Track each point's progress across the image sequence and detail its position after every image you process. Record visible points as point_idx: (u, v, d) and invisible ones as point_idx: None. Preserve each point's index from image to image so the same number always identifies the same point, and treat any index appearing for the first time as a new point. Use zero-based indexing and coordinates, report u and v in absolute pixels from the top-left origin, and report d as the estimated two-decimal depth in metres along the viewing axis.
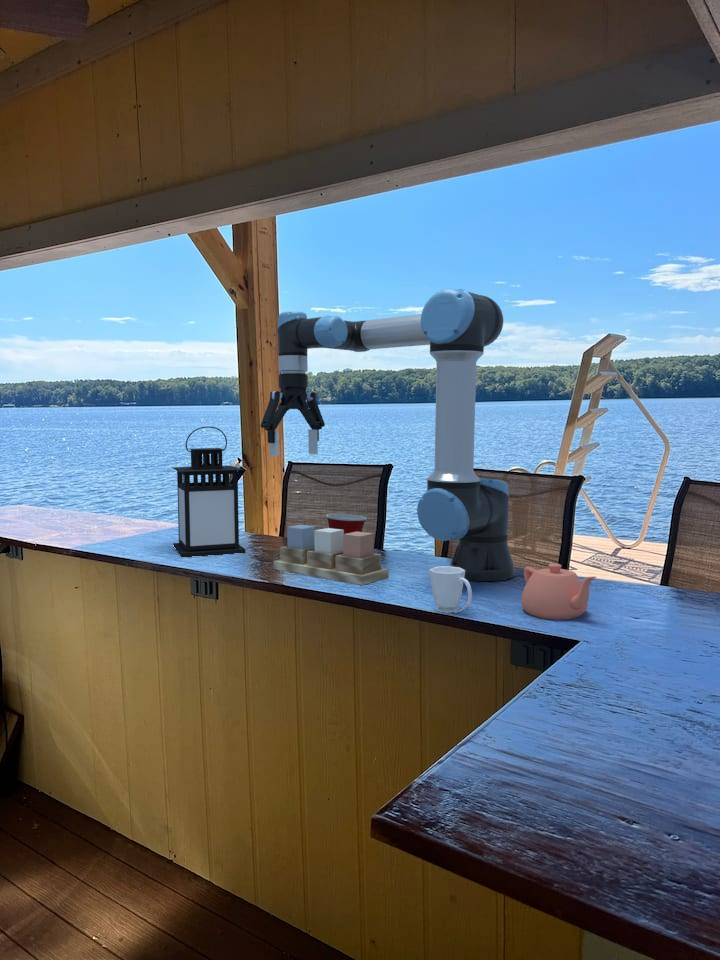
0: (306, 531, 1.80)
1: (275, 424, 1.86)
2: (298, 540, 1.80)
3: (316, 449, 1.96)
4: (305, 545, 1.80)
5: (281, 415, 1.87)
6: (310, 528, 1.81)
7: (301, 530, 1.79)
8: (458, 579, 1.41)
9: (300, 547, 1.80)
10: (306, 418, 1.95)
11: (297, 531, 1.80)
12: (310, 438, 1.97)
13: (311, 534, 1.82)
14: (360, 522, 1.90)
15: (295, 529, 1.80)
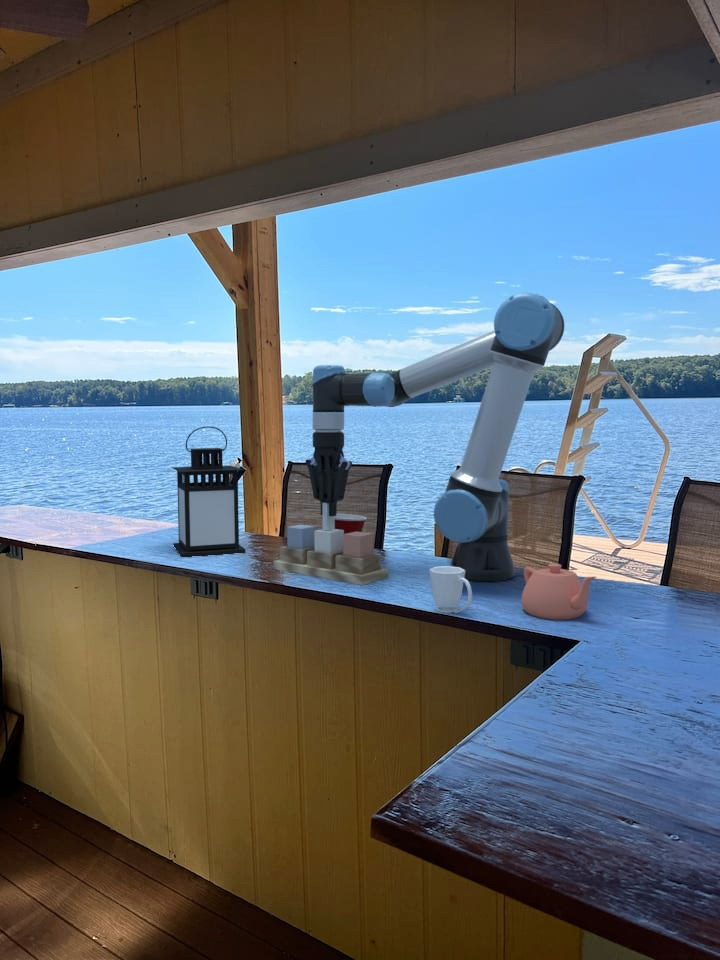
0: (306, 531, 1.80)
1: (320, 495, 1.76)
2: (298, 540, 1.80)
3: (325, 525, 1.76)
4: (305, 545, 1.80)
5: (320, 483, 1.76)
6: (310, 528, 1.81)
7: (301, 530, 1.79)
8: (458, 579, 1.41)
9: (300, 547, 1.80)
10: None
11: (297, 531, 1.80)
12: None
13: (311, 534, 1.82)
14: (360, 522, 1.90)
15: (295, 529, 1.80)
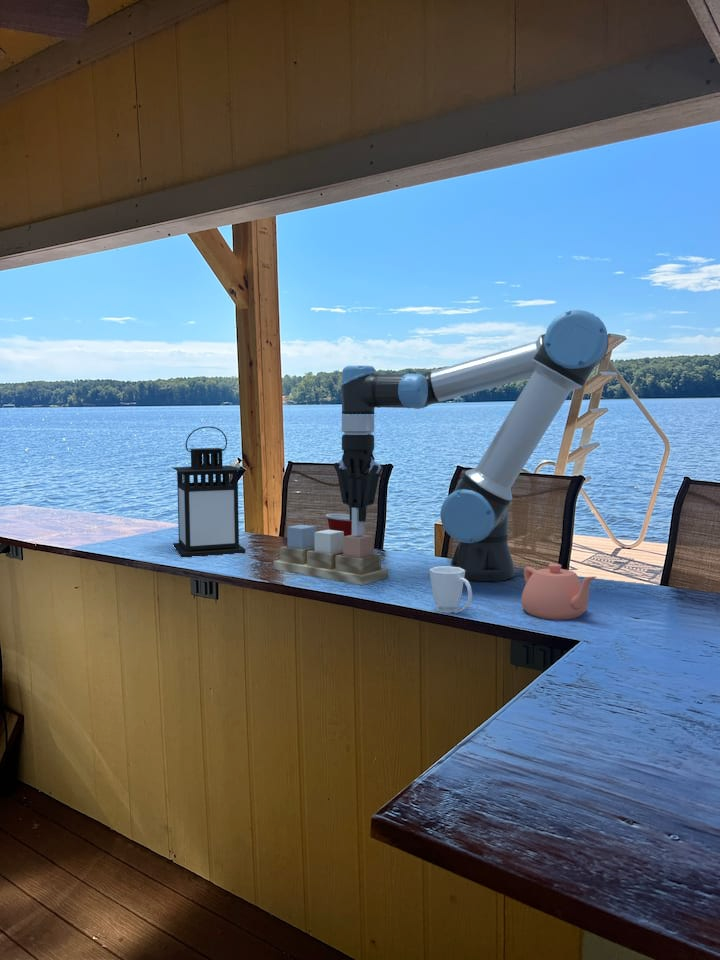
0: (306, 531, 1.80)
1: (349, 500, 1.71)
2: (298, 540, 1.80)
3: (355, 530, 1.70)
4: (305, 545, 1.80)
5: (349, 487, 1.70)
6: (310, 528, 1.81)
7: (301, 530, 1.79)
8: (458, 579, 1.41)
9: (300, 547, 1.80)
10: None
11: (297, 531, 1.80)
12: None
13: (311, 534, 1.82)
14: None
15: (295, 529, 1.80)
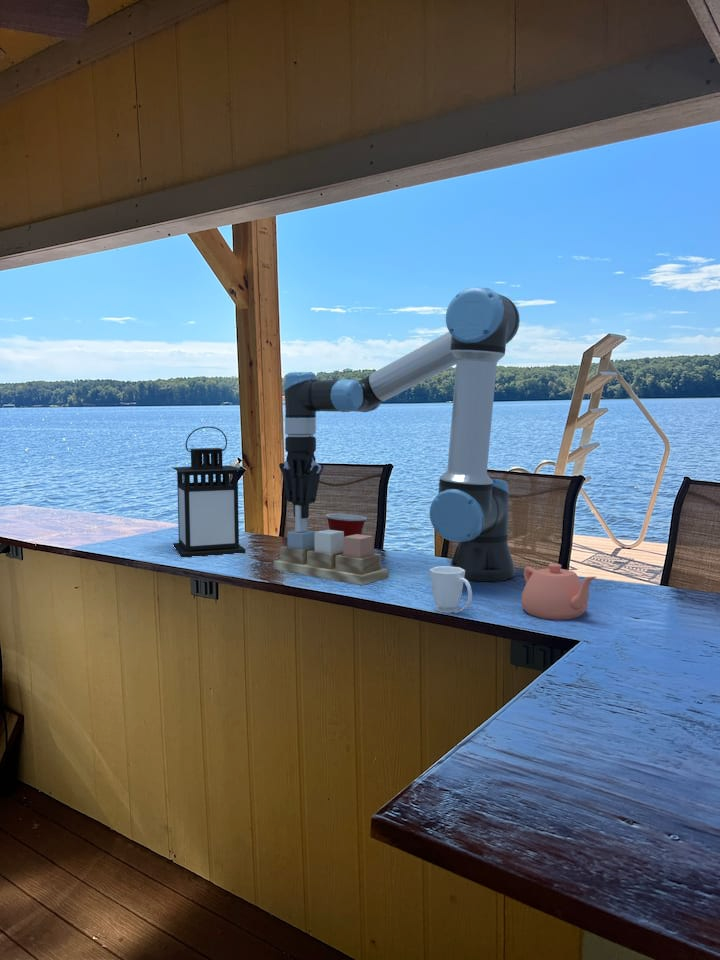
0: (306, 536, 1.80)
1: (293, 498, 1.82)
2: (298, 546, 1.80)
3: (298, 526, 1.81)
4: None
5: (292, 486, 1.82)
6: (310, 533, 1.81)
7: (301, 535, 1.79)
8: (458, 579, 1.41)
9: None
10: None
11: (297, 536, 1.80)
12: None
13: (311, 539, 1.82)
14: (360, 522, 1.90)
15: (295, 534, 1.80)
